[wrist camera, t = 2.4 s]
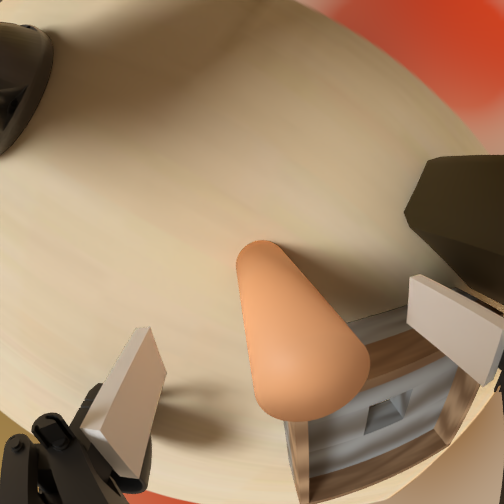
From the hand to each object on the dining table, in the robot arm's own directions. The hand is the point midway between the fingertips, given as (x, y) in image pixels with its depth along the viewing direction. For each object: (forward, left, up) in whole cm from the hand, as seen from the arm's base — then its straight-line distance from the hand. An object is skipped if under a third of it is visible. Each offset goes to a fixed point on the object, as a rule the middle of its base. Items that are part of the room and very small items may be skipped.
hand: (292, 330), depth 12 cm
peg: (0, 0, -10) cm, 10 cm away
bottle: (-1, +21, -10) cm, 23 cm away
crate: (+18, +11, -10) cm, 23 cm away
